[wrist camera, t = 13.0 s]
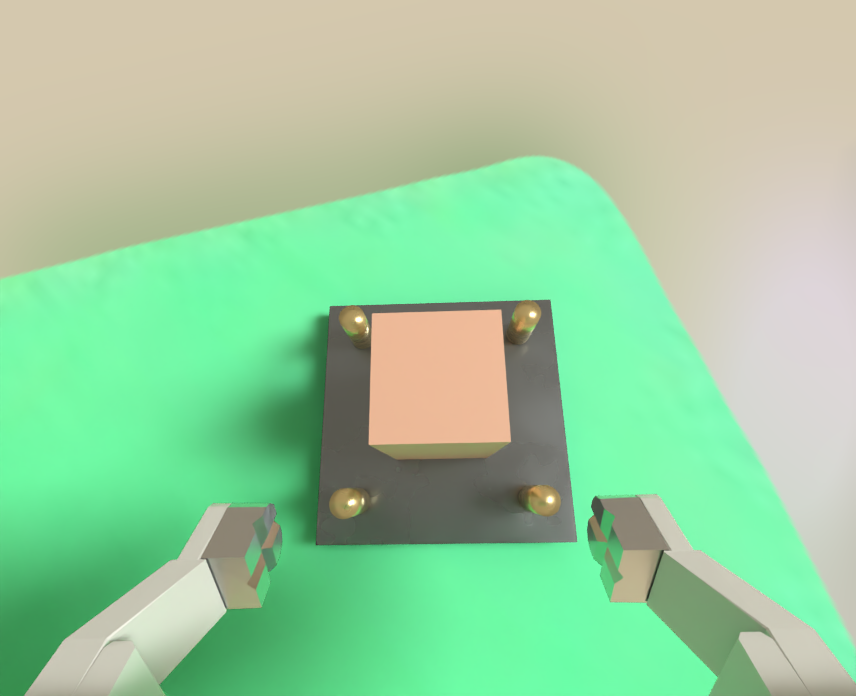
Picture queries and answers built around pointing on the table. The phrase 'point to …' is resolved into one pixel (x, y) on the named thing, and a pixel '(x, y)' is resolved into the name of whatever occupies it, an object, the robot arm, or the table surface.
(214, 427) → the table surface
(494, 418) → the terracotta block
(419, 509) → the plate
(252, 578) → the robot arm
